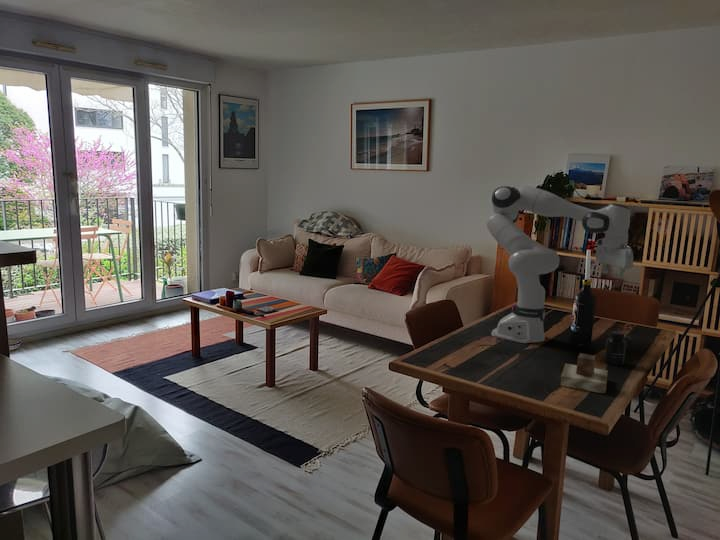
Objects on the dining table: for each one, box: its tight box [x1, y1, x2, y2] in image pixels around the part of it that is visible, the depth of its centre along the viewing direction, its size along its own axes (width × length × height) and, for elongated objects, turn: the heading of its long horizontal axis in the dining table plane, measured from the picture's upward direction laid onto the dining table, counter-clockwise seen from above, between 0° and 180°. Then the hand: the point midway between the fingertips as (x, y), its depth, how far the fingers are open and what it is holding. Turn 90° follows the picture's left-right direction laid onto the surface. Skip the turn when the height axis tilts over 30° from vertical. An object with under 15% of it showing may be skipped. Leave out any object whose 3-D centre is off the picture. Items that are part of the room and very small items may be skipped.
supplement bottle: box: [603, 330, 627, 366], centre depth 208 cm, size 7×7×12 cm
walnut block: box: [576, 352, 597, 377], centre depth 187 cm, size 5×5×6 cm
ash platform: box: [559, 363, 609, 394], centre depth 188 cm, size 14×14×4 cm
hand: (612, 275), depth 230 cm, fingers open, 8 cm apart
